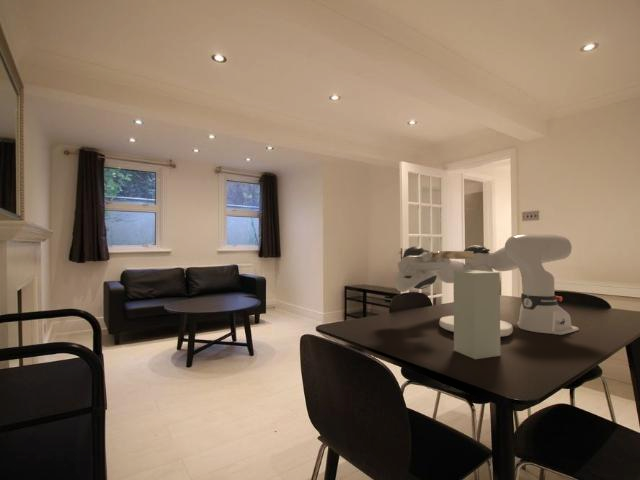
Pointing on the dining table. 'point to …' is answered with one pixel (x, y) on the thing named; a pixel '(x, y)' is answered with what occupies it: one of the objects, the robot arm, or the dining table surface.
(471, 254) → the wooden paddle
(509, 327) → the plate
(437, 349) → the dining table surface
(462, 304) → the shelf block
